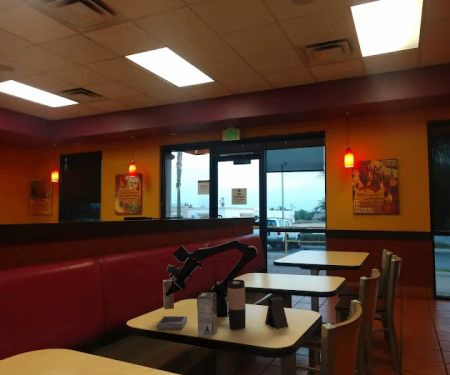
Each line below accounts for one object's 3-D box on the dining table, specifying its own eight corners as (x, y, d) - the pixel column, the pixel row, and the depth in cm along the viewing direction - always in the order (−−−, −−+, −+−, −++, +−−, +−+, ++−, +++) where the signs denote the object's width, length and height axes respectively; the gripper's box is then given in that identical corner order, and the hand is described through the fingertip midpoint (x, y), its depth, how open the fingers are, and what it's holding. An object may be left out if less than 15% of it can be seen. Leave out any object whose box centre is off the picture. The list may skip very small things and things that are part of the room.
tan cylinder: (172, 306, 186) (171, 279, 186) (173, 308, 181) (173, 280, 182) (163, 307, 184) (162, 280, 185) (164, 309, 180) (164, 281, 181)
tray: (186, 321, 176) (186, 316, 176) (181, 329, 165) (181, 323, 165) (163, 321, 177) (163, 316, 177) (157, 329, 166) (157, 323, 166)
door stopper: (288, 326, 164) (287, 299, 165) (277, 329, 161) (276, 301, 162) (275, 321, 172) (274, 294, 173) (264, 324, 169) (263, 296, 170)
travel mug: (237, 323, 171) (235, 278, 172) (249, 327, 165) (248, 280, 166) (225, 327, 166) (223, 281, 166) (237, 331, 160) (236, 283, 161)
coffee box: (203, 329, 165) (202, 291, 166) (217, 329, 164) (216, 292, 164) (197, 336, 156) (196, 297, 157) (212, 337, 155) (211, 297, 155)
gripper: (172, 256, 194) (151, 279, 190) (178, 261, 176) (155, 287, 173) (188, 270, 196) (167, 294, 192) (195, 276, 178) (172, 303, 174)
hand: (165, 294), depth 183 cm, fingers closed on tan cylinder, 4 cm apart
